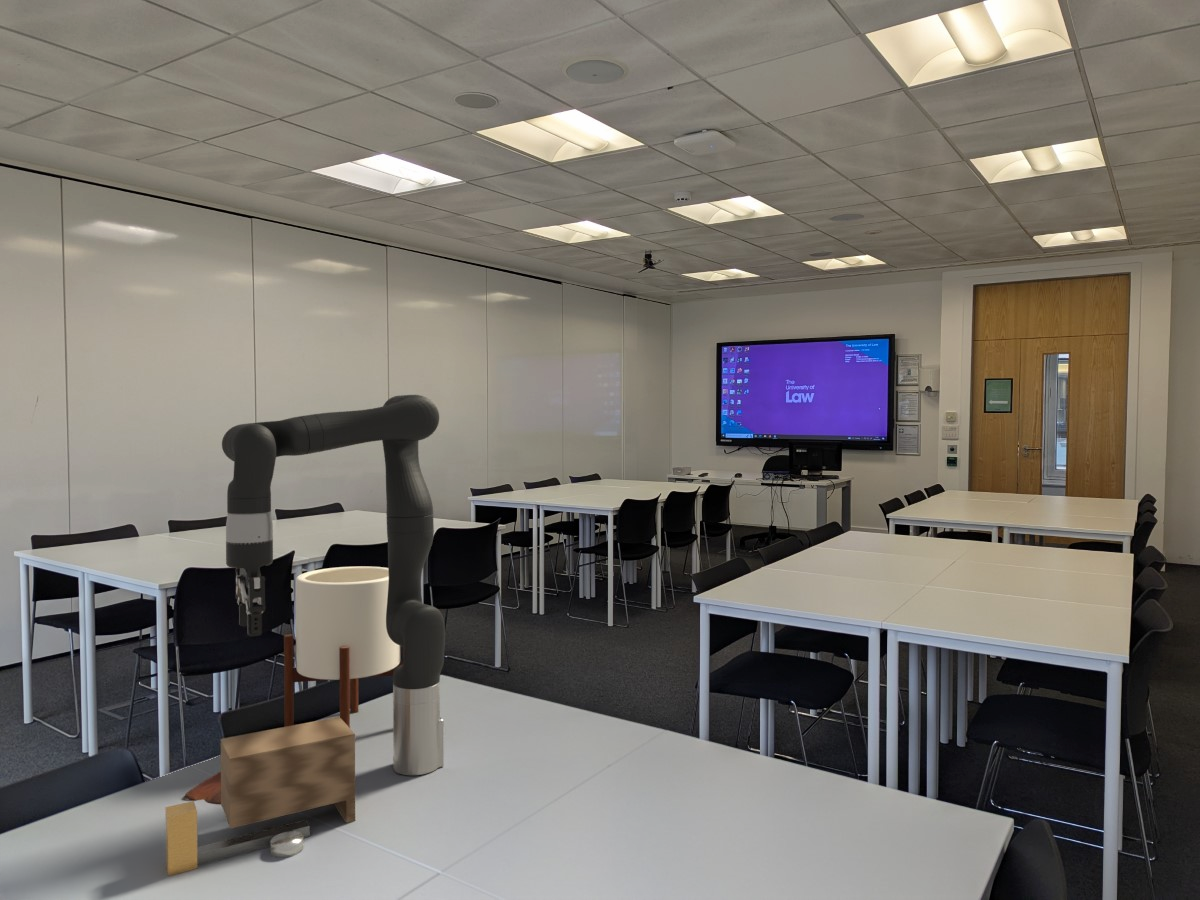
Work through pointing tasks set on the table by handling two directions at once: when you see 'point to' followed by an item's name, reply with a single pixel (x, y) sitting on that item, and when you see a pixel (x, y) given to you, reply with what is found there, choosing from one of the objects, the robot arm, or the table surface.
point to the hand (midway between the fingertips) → (250, 630)
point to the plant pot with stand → (339, 633)
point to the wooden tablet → (207, 790)
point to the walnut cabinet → (288, 771)
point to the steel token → (287, 844)
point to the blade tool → (189, 856)
